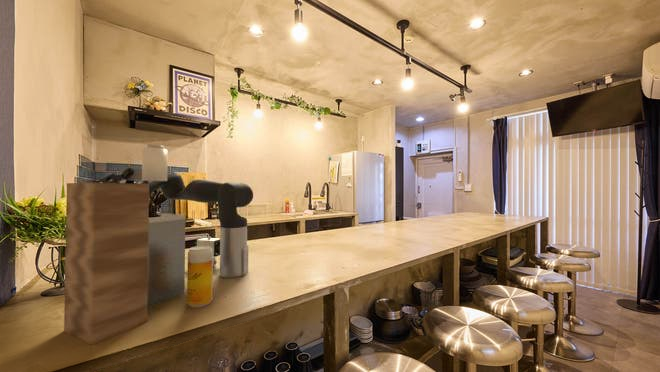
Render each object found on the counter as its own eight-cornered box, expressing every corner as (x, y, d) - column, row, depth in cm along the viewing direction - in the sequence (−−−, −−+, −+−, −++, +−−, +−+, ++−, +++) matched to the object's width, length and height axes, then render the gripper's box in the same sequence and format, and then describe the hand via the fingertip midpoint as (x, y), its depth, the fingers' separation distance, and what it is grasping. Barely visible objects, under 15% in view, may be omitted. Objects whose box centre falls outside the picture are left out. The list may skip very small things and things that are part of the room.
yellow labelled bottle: (185, 302, 69) (186, 247, 69) (209, 296, 72) (210, 244, 73) (189, 311, 64) (189, 251, 64) (214, 304, 68) (215, 248, 68)
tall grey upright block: (125, 301, 69) (127, 216, 70) (163, 288, 79) (164, 213, 79) (147, 308, 65) (149, 218, 66) (184, 293, 74) (185, 214, 75)
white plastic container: (114, 180, 76) (115, 147, 76) (136, 180, 81) (137, 150, 82) (149, 180, 68) (150, 143, 68) (171, 180, 74) (172, 146, 74)
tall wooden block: (64, 330, 55) (66, 183, 55) (118, 310, 64) (120, 184, 64) (92, 345, 50) (95, 182, 50) (147, 321, 59) (149, 183, 59)
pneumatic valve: (218, 269, 97) (218, 238, 97) (192, 267, 100) (192, 236, 100) (227, 265, 103) (227, 235, 103) (201, 263, 105) (202, 234, 105)
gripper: (139, 206, 88) (166, 181, 81) (86, 209, 75) (113, 180, 69) (133, 187, 89) (159, 162, 83) (80, 187, 77) (107, 156, 70)
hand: (138, 170), depth 76 cm, fingers closed on white plastic container, 3 cm apart
